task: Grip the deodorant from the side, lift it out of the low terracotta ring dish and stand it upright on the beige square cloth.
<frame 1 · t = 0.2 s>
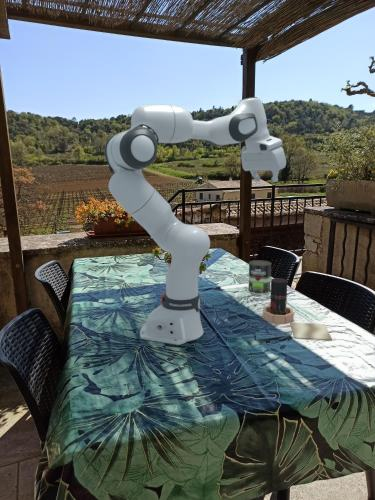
hand: (266, 181, 128), 52 cm above the table, tool tilted 20°, fingers open, 8 cm apart
beige square cloth: (310, 331, 119), on the table
ring dish: (277, 317, 131), on the table
deodorant: (277, 318, 131), resting in ring dish
coffee can: (259, 291, 161), on the table
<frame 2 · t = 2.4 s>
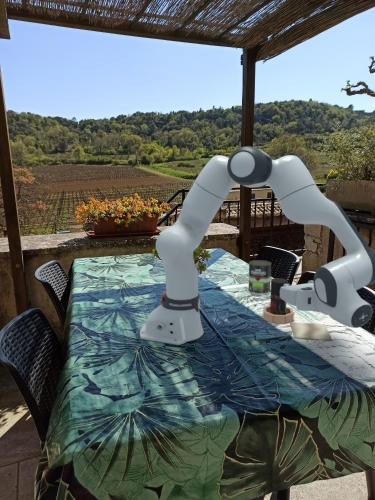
hand: (297, 284, 116), 17 cm above the table, tool horizontal, fingers open, 8 cm apart
nothing on the table moved.
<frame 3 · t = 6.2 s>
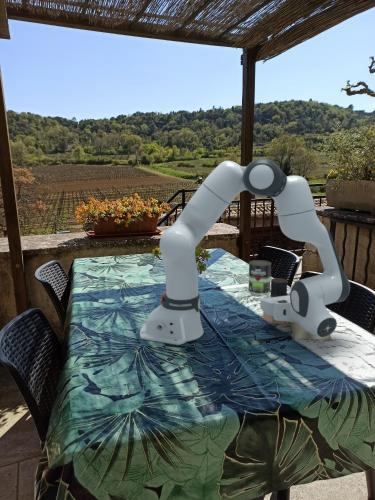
hand: (277, 295, 130), 9 cm above the table, tool horizontal, fingers closed on deodorant, 6 cm apart
deodorant: (277, 318, 131), resting in ring dish, touching gripper
everything else where it was.
when the fingers open (10 cm above the table, at t = 10.3 s): deodorant stays where it is, resting on beige square cloth.
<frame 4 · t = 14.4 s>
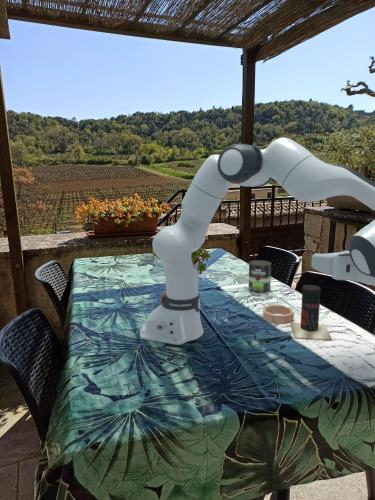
hand: (329, 254, 103), 30 cm above the table, tool horizontal, fingers open, 8 cm apart
deodorant: (309, 328, 121), resting on beige square cloth
everything else where it was.
at the end: deodorant inside the target area on the beige square cloth (2.0 cm from its centre), point 0.3 cm above the beige square cloth's base; deodorant tilted 0°; the gripper is holding nothing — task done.
